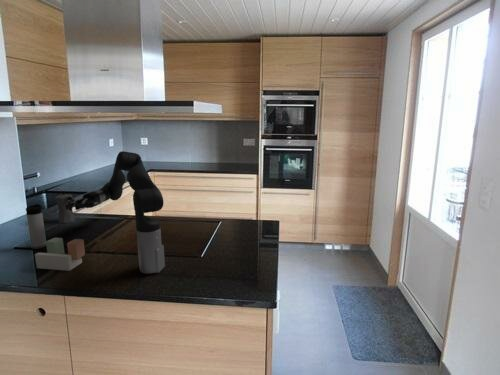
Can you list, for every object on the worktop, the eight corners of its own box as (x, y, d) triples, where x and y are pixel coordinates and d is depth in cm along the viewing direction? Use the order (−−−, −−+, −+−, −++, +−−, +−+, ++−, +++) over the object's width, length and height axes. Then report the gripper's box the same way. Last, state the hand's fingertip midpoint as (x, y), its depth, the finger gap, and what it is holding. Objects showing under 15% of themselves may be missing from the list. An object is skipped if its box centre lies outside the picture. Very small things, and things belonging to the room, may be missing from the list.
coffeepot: (53, 221, 202) (49, 191, 198) (69, 217, 209) (65, 188, 205) (66, 225, 193) (62, 194, 189) (82, 221, 201) (79, 191, 197)
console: (82, 262, 145) (80, 249, 144) (69, 270, 138) (67, 256, 136) (51, 260, 148) (49, 247, 147) (36, 268, 140) (34, 254, 139)
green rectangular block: (64, 253, 150) (62, 238, 148) (56, 257, 145) (54, 242, 143) (56, 252, 150) (54, 237, 149) (48, 257, 145) (45, 241, 144)
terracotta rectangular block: (85, 254, 148) (83, 239, 146) (77, 259, 143) (75, 243, 142) (76, 254, 149) (74, 238, 147) (69, 258, 144) (67, 243, 142)
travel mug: (49, 243, 167) (44, 204, 162) (42, 248, 160) (36, 207, 156) (36, 243, 166) (30, 204, 162) (28, 249, 160) (22, 208, 156)
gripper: (80, 190, 173) (56, 199, 156) (106, 191, 170) (84, 200, 154) (82, 205, 174) (58, 214, 158) (107, 206, 172) (86, 216, 156)
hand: (71, 207), depth 156 cm, fingers open, 4 cm apart
